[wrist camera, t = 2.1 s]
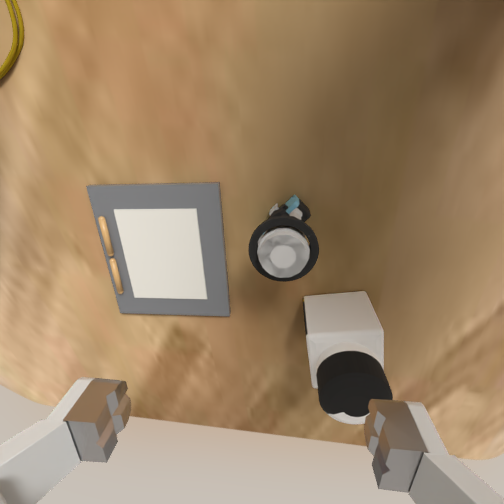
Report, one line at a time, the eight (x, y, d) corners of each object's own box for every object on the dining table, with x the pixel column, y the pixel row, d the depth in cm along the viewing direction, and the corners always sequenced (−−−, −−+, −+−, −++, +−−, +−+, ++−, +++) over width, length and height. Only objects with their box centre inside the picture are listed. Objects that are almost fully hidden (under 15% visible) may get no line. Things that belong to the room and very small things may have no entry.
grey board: (219, 182, 30) (216, 185, 29) (230, 312, 37) (228, 319, 35) (90, 184, 32) (82, 187, 30) (123, 309, 38) (117, 316, 37)
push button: (274, 256, 33) (269, 309, 24) (239, 223, 32) (220, 266, 23) (320, 215, 31) (335, 258, 21) (285, 178, 29) (284, 206, 20)
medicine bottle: (302, 295, 35) (309, 376, 24) (365, 289, 34) (404, 372, 23) (307, 343, 38) (316, 435, 27) (366, 339, 36) (401, 434, 25)
